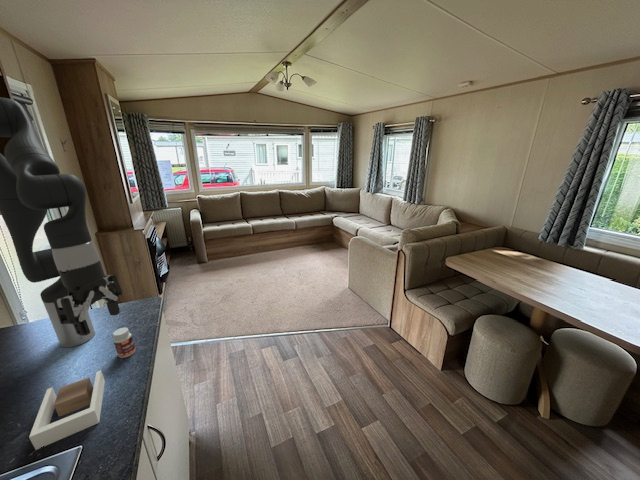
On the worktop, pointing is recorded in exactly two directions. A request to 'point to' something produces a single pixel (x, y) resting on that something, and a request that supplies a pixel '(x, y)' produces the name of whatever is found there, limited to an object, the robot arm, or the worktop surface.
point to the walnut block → (73, 397)
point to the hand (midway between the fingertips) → (101, 324)
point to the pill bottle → (123, 342)
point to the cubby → (67, 426)
